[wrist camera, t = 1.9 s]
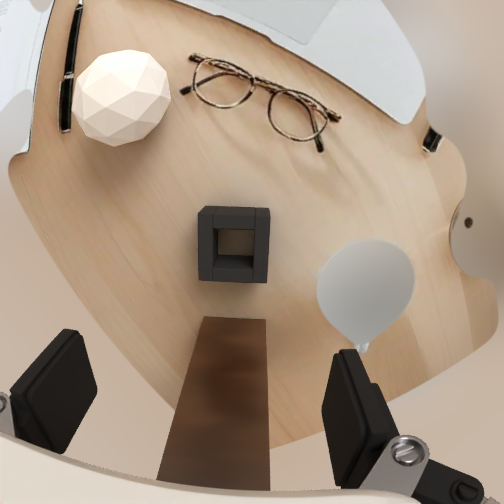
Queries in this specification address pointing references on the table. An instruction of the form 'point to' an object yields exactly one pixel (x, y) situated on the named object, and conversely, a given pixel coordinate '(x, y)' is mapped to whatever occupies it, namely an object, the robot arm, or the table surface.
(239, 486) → the stand
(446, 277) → the table surface
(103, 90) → the geometric ball
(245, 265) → the dark grey square frame
